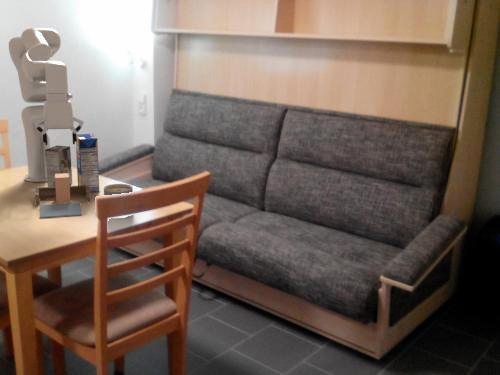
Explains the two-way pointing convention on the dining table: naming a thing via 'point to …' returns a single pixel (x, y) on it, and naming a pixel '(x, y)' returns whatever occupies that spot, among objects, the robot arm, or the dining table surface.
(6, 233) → the dining table surface
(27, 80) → the robot arm
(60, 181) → the block
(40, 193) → the frame
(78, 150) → the beverage box
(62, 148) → the coffee box
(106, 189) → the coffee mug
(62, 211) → the mat
